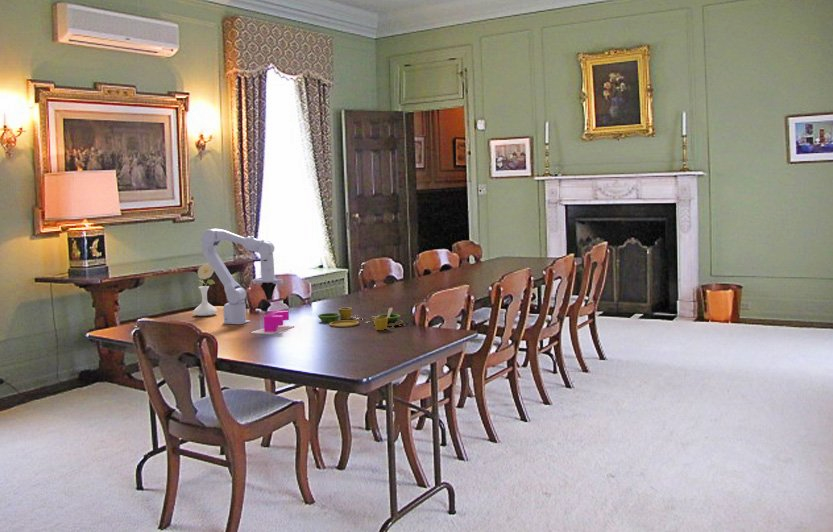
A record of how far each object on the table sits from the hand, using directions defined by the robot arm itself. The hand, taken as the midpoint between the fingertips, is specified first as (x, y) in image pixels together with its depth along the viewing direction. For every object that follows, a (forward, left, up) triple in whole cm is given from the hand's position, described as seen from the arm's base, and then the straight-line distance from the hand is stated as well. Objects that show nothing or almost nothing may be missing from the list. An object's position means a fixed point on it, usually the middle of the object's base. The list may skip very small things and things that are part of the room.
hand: (269, 299), depth 361 cm
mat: (+11, -15, -10) cm, 21 cm away
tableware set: (+41, +9, -11) cm, 44 cm away
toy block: (+8, -15, -7) cm, 18 cm away
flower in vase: (-41, +9, -11) cm, 44 cm away
